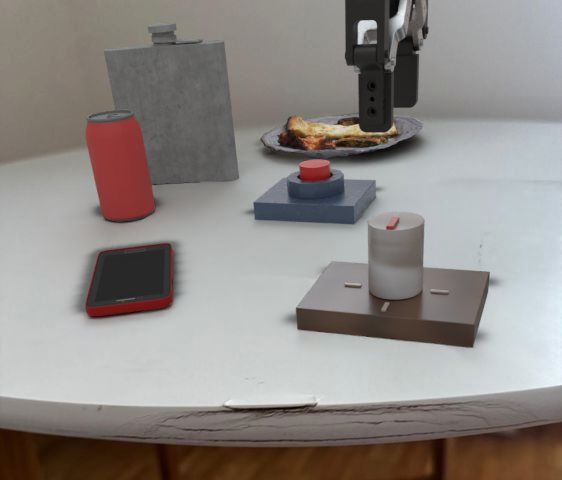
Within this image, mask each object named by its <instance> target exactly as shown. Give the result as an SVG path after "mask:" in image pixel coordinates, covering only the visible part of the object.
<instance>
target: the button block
mask: <svg viewBox="0 0 562 480" xmlns="http://www.w3.org/2000/svg"><path fill="white" fill-rule="evenodd" d="M330 173H331V177H330V178H327V179H324V180H317V181H304V180H300V173H299V170H298V171H294V172H291V173H290V174H289V175H287V176H286V177H283V178H281V179H279V181H277V182H276V183H275V184H274V185H273V186H271V187H270V188H269V189H267V191H265V192H264V193H262V195H260V196H259V197H258V198H257V199H255V200H254V201H253V204H252V205H253V214H254V220H255V221H268V222H269V221H270V222H271V221H273V222H293V223H313V224H315V223H316V224H334V225H335V224H336V225H356V223H357V222H358V221H359V219H360V218H361V217H362V216H363V214H364V213H365V212H366V210H367V209H368V208H369V207H370V206H371V204H372V203H373V202H374V201H375V199H376V198H377V180H376V179H351V178H350V179H347V178H346V179H345V174H344V172H342V170H340V169H336V168H332V167H330Z"/></svg>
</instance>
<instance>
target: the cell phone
mask: <svg viewBox="0 0 562 480" xmlns="http://www.w3.org/2000/svg"><path fill="white" fill-rule="evenodd" d="M173 275H174V251H173V246H172V244H171V243H170V242H168V243H167V242H165V243H164V242H162V243H154V244H146V245H138V246H129V247H121V248H113V249H106V250H101V251H99V253H98V255H97V257H96V261H95V265H94V269H93V272H92V277H91V279H90V280H91V281H90V285H89V288H88V292H87V296H86V300H85V306H84V307H85V311H86V314H87V315H88V316H89V317H103V316H109V315H110V316H111V315H116V314H125V313H126V314H127V313H133V312H142V311H151V310H156V309H162V308H168V307H169V306H170V305H171V304H172V303H173V301H174V293H173V284H174V276H173Z"/></svg>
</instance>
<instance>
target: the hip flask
mask: <svg viewBox="0 0 562 480" xmlns="http://www.w3.org/2000/svg"><path fill="white" fill-rule="evenodd" d="M147 31H148V33H149V34H151V36H150V37H151V42H152V44H143V45H134V46H120V47H113V48H107V49H103V53H104V59H105V65H106V70H107V75H108V80H109V85H110V90H111V97H112V101H113V106H114V110H121V109H124V110H132V111H133V112H134V116H135V118H136V119H137V121H138V123H139V125H140V127H141V130H142V134H143V140H144V146H145V151H146V157H147V163H148V168H149V174H150V180H151V186H153V185H152V184H157V185H167V184H166V183H172V184H186V183H185V182H196V183H203V182H205V183H206V182H207V183H208V182H210V183H211V182H212V183H213V182H216V183H228V182H233V181H237V180H239V178H240V175H239V173H240V171H239V165H238V156H237V146H236V136H235V129H234V127H235V126H234V118H233V117H234V116H233V109H232V101H231V100H232V99H231V89H230V83H229V82H230V81H229V72H228V64H227V63H228V62H227V55H226V45H225V41H224V40H219V39H218V40H204V38H178V37H177V35H176V34H175V31H177V23H176V22H160V23H155V24H150V25H147Z"/></svg>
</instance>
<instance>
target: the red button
mask: <svg viewBox="0 0 562 480" xmlns="http://www.w3.org/2000/svg"><path fill="white" fill-rule="evenodd" d="M330 168H331V162H330V161H329V160H327V159H322V158H317V159H315V158H314V159H307V160H304V161H301V162H300V163H299V164H298V171H299V173H300V180H304V181H317V180H324V179H327V178H330V177H331V173H330Z"/></svg>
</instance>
